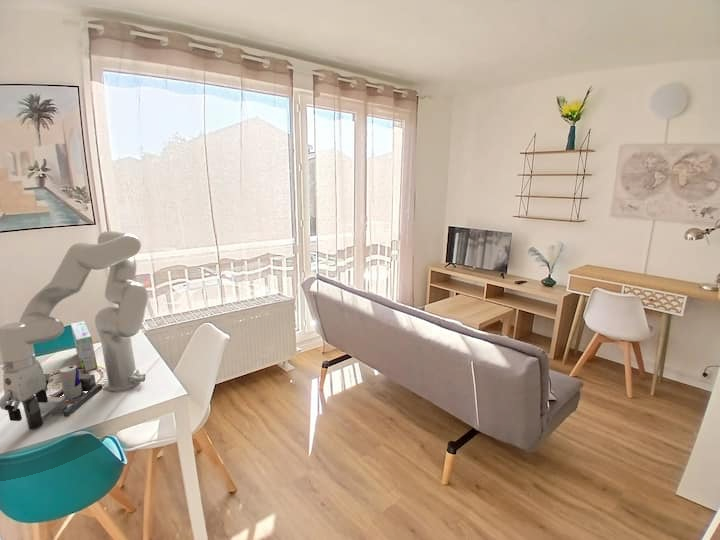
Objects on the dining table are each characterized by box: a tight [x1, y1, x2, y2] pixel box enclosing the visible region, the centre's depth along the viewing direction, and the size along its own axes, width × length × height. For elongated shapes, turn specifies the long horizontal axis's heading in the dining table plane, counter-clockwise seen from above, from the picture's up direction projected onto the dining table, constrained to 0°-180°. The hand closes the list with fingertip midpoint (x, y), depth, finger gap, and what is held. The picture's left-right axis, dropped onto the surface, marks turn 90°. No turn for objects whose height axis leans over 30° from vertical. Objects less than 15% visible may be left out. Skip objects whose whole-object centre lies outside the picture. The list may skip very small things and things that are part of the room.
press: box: [50, 373, 103, 418], centre depth 136 cm, size 12×17×6 cm
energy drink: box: [59, 364, 84, 402], centre depth 137 cm, size 5×5×12 cm
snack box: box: [70, 320, 99, 373], centre depth 163 cm, size 21×6×15 cm, turn 42°
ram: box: [21, 395, 69, 430], centre depth 125 cm, size 8×10×10 cm
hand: (29, 410), depth 121 cm, fingers open, 9 cm apart
